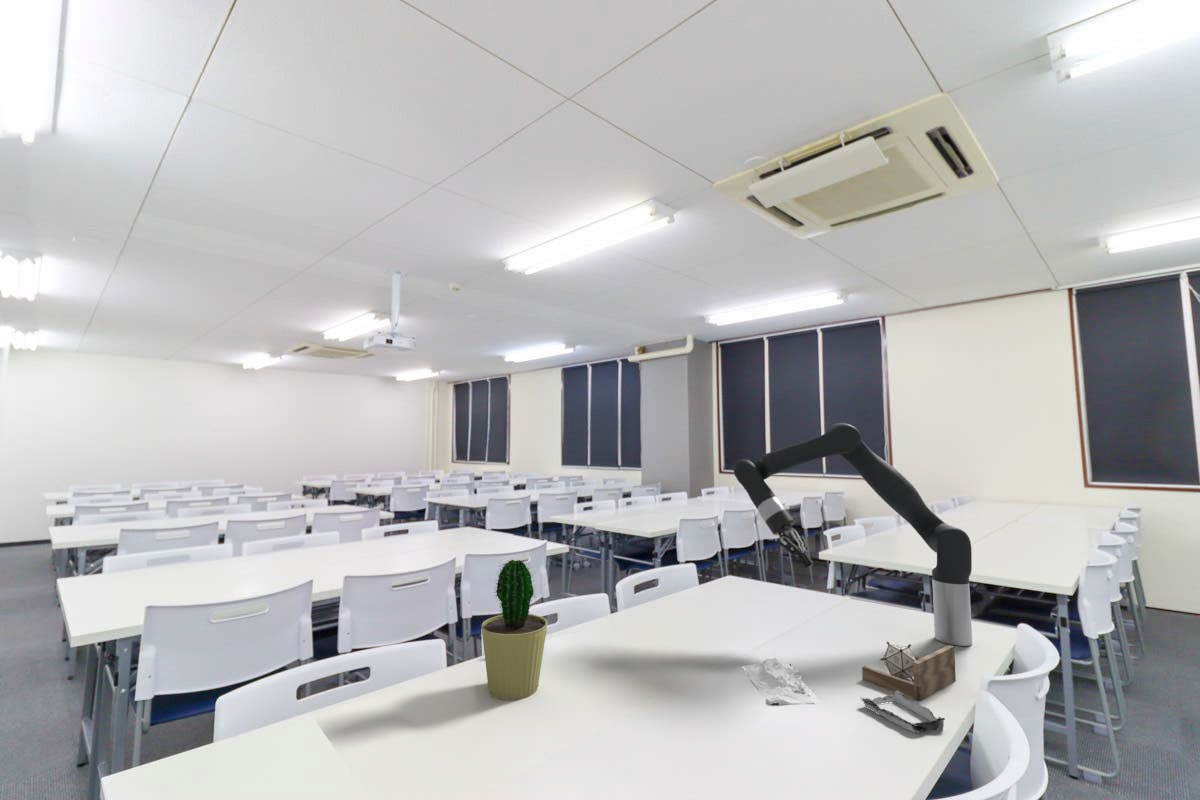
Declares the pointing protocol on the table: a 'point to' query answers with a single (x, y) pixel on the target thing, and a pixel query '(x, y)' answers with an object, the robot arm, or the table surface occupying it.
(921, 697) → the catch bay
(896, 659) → the game die
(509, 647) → the potted cactus
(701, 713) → the table surface
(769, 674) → the terrain model
